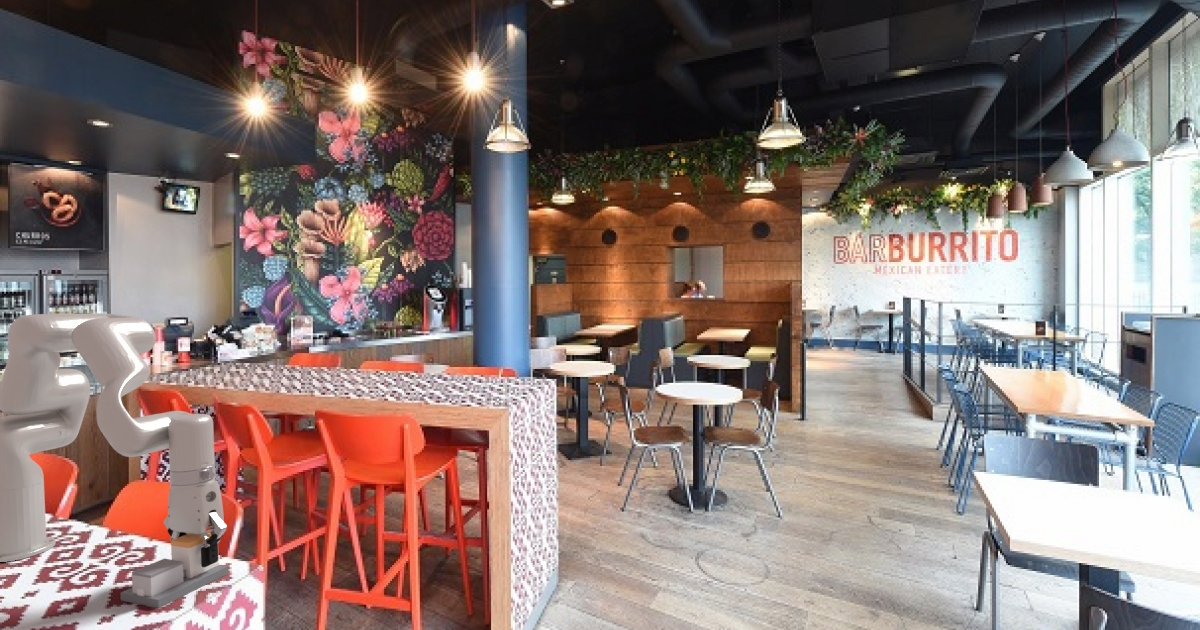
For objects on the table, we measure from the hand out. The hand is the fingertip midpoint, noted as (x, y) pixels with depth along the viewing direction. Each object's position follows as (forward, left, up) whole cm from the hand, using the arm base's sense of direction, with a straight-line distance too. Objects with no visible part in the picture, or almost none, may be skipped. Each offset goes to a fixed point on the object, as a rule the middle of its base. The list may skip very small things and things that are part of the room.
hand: (196, 561), depth 118 cm
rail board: (0, -4, -3) cm, 5 cm away
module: (0, 0, -2) cm, 2 cm away
